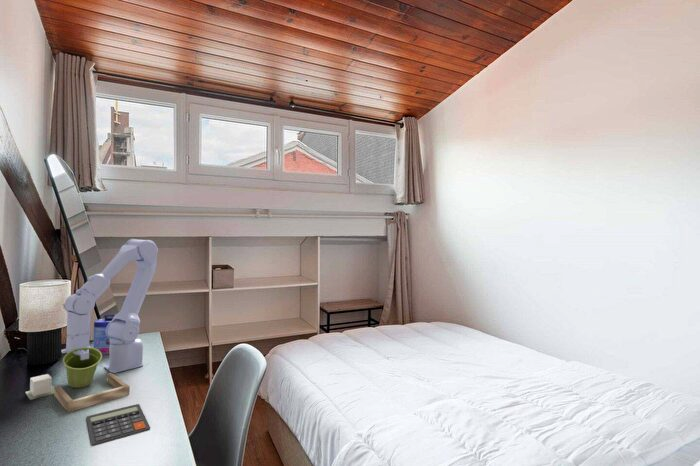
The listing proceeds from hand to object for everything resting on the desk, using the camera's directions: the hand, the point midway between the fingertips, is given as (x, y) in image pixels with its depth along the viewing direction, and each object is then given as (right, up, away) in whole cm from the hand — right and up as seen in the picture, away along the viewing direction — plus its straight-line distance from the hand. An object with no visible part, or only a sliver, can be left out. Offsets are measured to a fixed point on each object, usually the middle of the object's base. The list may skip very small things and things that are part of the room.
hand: (77, 377), depth 114 cm
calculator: (+27, -3, -23) cm, 36 cm away
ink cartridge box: (-7, -1, +27) cm, 28 cm away
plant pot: (+3, 0, -2) cm, 4 cm away
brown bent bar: (+6, -2, -8) cm, 10 cm away
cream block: (-4, -1, -9) cm, 10 cm away
